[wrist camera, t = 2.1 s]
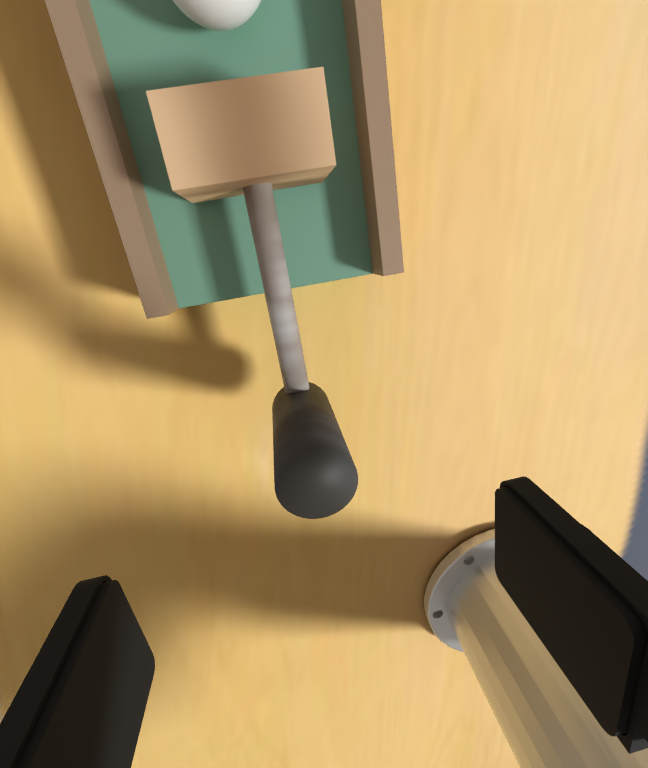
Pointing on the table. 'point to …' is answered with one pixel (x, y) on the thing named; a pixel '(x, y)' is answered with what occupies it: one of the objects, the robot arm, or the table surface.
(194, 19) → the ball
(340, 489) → the striker
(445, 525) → the table surface
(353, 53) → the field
